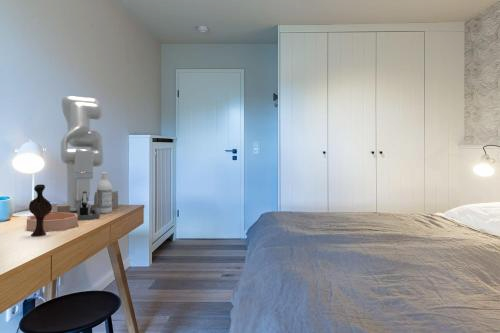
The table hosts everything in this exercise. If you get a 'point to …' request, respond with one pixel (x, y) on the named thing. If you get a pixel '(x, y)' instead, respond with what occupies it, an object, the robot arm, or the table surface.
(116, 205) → the fossil
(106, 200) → the bath foam
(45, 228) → the bowl
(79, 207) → the grey sharp-edged cuboid
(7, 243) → the table surface
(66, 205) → the greyish beige block
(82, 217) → the tray
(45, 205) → the figurine
